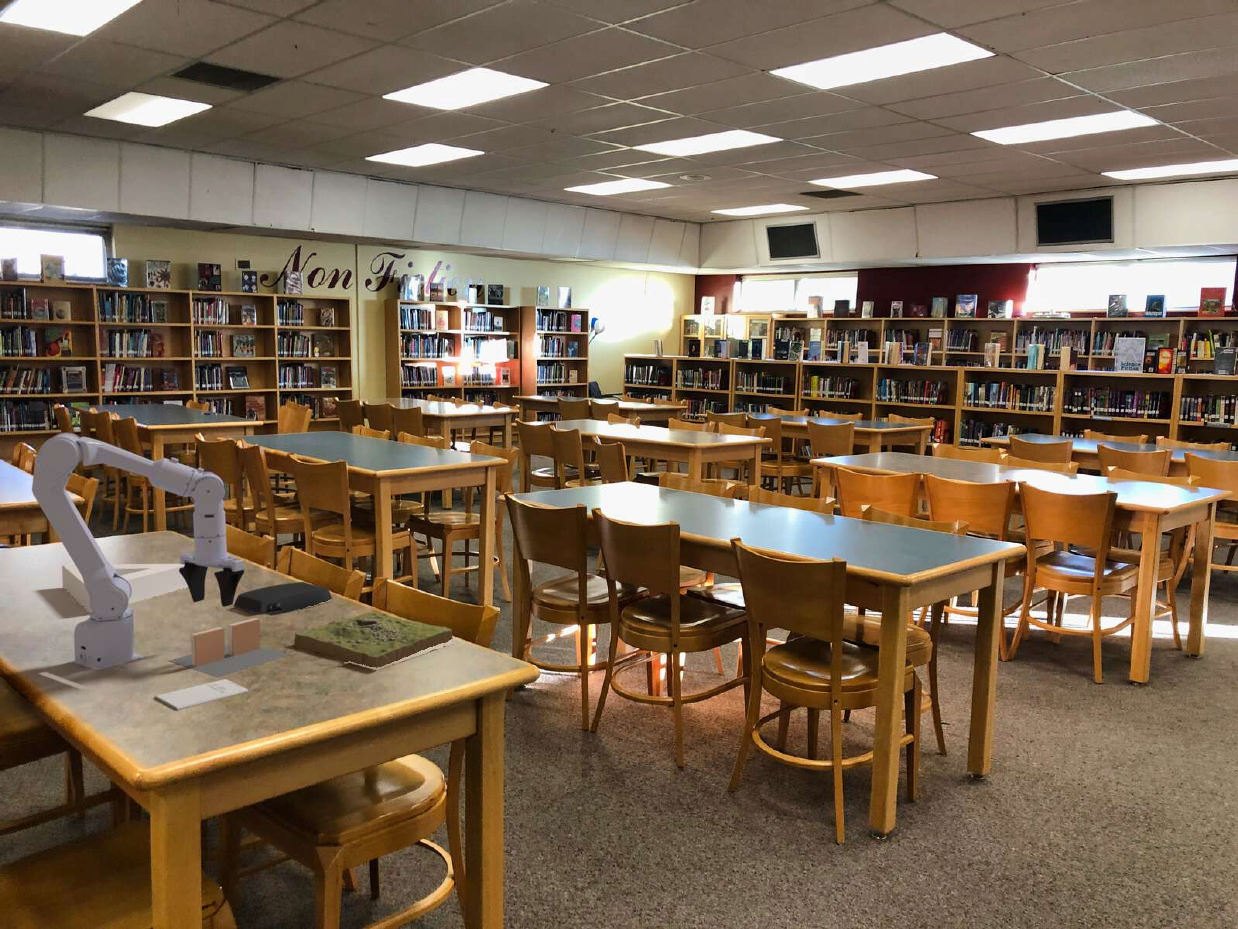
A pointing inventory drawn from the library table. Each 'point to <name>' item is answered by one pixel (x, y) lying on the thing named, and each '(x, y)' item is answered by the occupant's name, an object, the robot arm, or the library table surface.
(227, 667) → the slate mat
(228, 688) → the external hard drive
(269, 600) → the external hard drive
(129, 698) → the library table surface
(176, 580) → the triangle block
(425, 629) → the miniature landscape model
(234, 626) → the tile right
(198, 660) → the tile left
